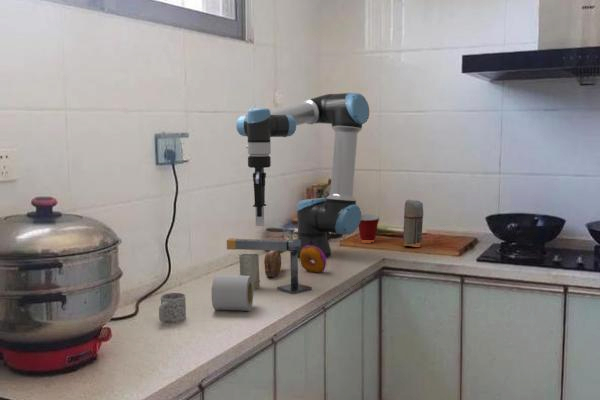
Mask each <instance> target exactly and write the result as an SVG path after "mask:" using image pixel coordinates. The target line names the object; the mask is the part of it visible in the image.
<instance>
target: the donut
mask: <svg viewBox="0 0 600 400" xmlns="http://www.w3.org/2000/svg"><path fill="white" fill-rule="evenodd" d="M310 258H311V259H310ZM299 261H300V265H301V268H303V269H304V270H305V271H308V272H311V273H322V272H323V271H324V270H325V268H326V265H327V258H326V256H325V254H324V253H323V251H322V250H321V249H319V248H318V247H316V246H313V245H308V246H304V247H303V248H302V249H301V253H300V258H299ZM312 261H313V262H312Z"/></svg>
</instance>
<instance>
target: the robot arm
mask: <svg viewBox="0 0 600 400" xmlns="http://www.w3.org/2000/svg"><path fill="white" fill-rule="evenodd" d="M369 119H370V106H369V102H368V101H367V99H366V97H365V96H364V95H363V94H361V93H359V92H358V93H357V92H355V93H354V92H346V93H328V94H324V95H320V96H316V97H312V98H310V99H306V100H304V101H302V102H301V103H300V104H295V105H291V106H286V107H281V108H278V109H274V110H272V109H271V110H270V108H262V107H261V108H249V109H248V110H247V114H246V115H241V116H239V118H238V119H237V121H236V125H235V126H236V131H237V133H238V134H239V135H240V136H242V137H247V145H246V146H245V148H246V149H247V154H248V157H247V167H248V168H254V172H253V173H252V180H253V193H254V194H253V195H254V198H253V199H254V204H253V205H252V206H253V208H255V227H265V207H266V206H267V203H266V201H265V198H266V196H265V194H266V193H265V192H266V178H267V173H266V172H265V169H264V168H270V167H271V162H272V161H271V156H270V155H271V149H272V148H271V146H272V145H271V144H272V143H271V138H287V137H291V136H294V134H295V132H296V130H297V126H301V125H303V124H307V125H313V124H327V125H331V129H332V130H333V131H334V141H333V143H334V144H333V157H332V168H331V169H332V170H331V181H330V182H331V184H330V194H328V195H327V197H318V198H317V197H316V198H309V199H303V200H300V201H298V202H297V211H296V213H297V214H296V215H297V217H296V219H297V238H296V239H299V240H301V249H302V248H303V247H304V246H308V245H313V246H316V247H318V248H319V249H321V250H322V251H323V253H324V254H325V256H326V259H327V258H330V257H331V256H332V249H331V246H330V242H329V239H328V237H327V236H328V235H327V234H328V233H331V234H338V235H352V234H353V233H355V232H356V230H357V229H359V224H360V221H361V215H362V211H361V208H360V206H359V205H357V199H356V198H355V197H354V195H353V193H354V180H355V171H356V170H355V166H356V157H357V145H358V144H357V143H358V142H357V141H358V133H360V131H362V129H363V125H364V124H366V123H367V122H368V120H369ZM300 253H301V250H300V251H298V259H300ZM310 260H312V259H311V258H310Z"/></svg>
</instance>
